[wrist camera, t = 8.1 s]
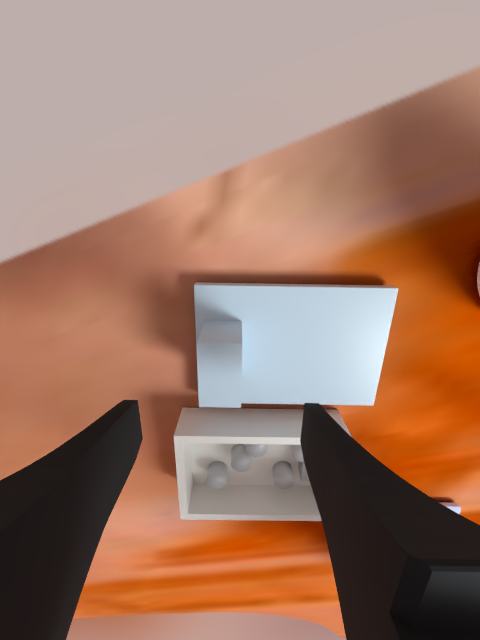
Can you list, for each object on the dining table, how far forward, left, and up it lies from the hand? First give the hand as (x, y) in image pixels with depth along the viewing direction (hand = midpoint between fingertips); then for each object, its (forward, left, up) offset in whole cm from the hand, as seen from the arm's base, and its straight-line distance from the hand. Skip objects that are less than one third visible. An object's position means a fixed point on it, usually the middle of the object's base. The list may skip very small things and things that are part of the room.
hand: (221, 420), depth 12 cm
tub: (-9, -2, -8) cm, 13 cm away
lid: (0, -4, -8) cm, 9 cm away
